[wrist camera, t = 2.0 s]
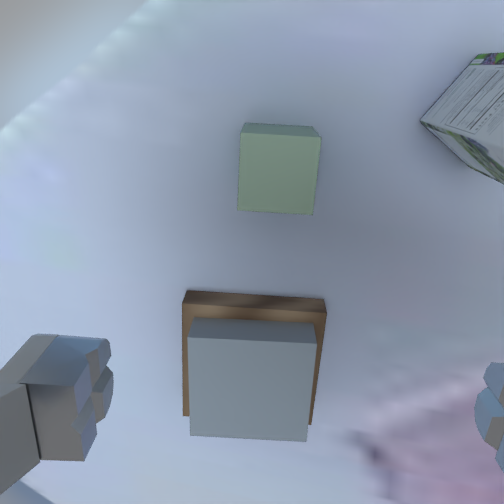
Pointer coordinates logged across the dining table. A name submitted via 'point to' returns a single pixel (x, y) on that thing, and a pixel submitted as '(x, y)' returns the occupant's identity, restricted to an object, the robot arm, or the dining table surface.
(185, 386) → the walnut base slab
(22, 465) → the robot arm
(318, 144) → the sage block
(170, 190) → the dining table surface
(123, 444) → the dining table surface
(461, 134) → the syrup box
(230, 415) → the grey top slab
